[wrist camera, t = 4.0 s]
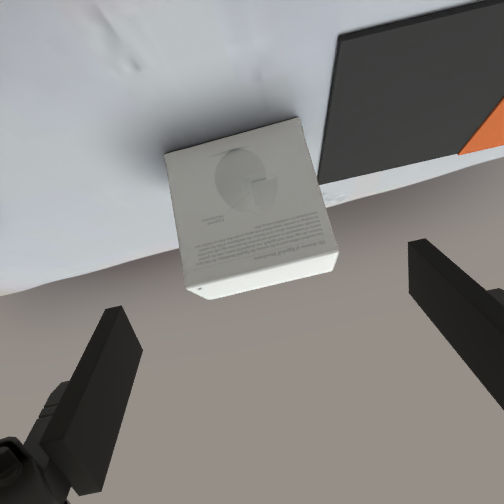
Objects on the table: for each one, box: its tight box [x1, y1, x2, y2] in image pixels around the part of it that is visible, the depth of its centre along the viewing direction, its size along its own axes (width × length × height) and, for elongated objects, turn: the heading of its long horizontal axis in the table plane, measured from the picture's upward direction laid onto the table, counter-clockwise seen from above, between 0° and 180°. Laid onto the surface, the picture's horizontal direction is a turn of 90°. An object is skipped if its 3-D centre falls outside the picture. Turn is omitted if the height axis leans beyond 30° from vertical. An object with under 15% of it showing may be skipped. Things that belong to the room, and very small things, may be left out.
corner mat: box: [317, 0, 504, 185], centre depth 28 cm, size 22×17×1 cm
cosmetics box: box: [164, 118, 339, 300], centre depth 28 cm, size 10×6×10 cm, turn 100°
